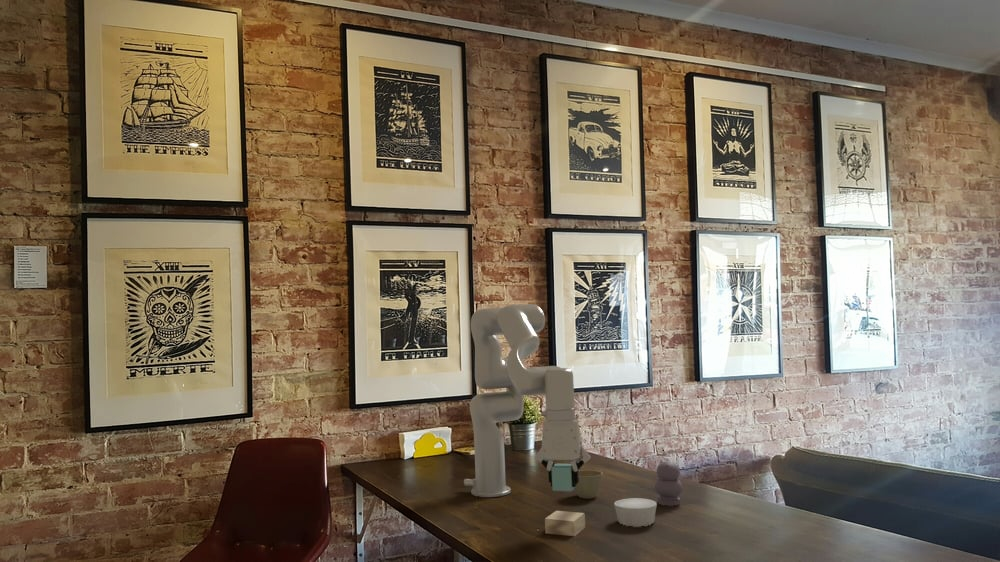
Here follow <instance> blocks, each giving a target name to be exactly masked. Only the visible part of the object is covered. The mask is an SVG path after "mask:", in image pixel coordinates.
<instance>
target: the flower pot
mask: <svg viewBox="0 0 1000 562" xmlns="http://www.w3.org/2000/svg"><path fill="white" fill-rule="evenodd" d="M578 474H579V483H577V485H576V486H575V488H574V489H573V491H575V493H576V495H577V497H579V498H580V499H595V497H596V496H597V495H598V492H599V490H600V488H601V485H602V481H603V475H604V474H603V472H602V471H600V470H593V469H581V470H580V469H579V470H578Z"/></svg>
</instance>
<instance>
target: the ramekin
mask: <svg viewBox="0 0 1000 562" xmlns="http://www.w3.org/2000/svg"><path fill="white" fill-rule="evenodd" d="M657 506H658V503H657V501H655V500H652V499H649V498H641V497H633V498H632V497H630V498H623V499H622V498H621V499H619V500H616V501H614V503H613V508H614V509H615V514H616V518H617V522H619V524H620V525H621V524H623V525H622V526H624V525H626V526H625V527H628V526H633V527H632V528H642V527H641V526H645V527H649V526H652V525H653V524H652V523H654V522H655V520H656V510H657ZM651 524H652V525H651ZM648 525H649V526H648Z"/></svg>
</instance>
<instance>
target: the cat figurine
mask: <svg viewBox="0 0 1000 562" xmlns="http://www.w3.org/2000/svg"><path fill="white" fill-rule="evenodd" d="M659 461H660V462H659V464H658V465H657V467H656V475H657V477H658V479H657V480H656V481H655V483H654V489H655V491H656V493H657V494H658V495H659V496H658V497H657V504H658V503H659V504H658V505H660V504H661V505H660V506H664V505H668V506H667V507H674V506H673V505H676V506H679V505H680V504H681V498H680V497H679V496H680V495H681V494H682V491H683V484H682V482H681V481H680V480H679V478H680V474H681V471H680V468H679V466H678V465H677V464H676V463H675V462H672V461H667V460H666V461H664V460H662V459H660V460H659ZM678 504H679V505H678ZM670 505H672V506H670Z"/></svg>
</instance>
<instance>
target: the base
mask: <svg viewBox="0 0 1000 562" xmlns="http://www.w3.org/2000/svg"><path fill="white" fill-rule="evenodd" d="M585 528H586V515H585V512H578V511H577V512H574V511H564V510H555V511H554V512H552V513H551V514H550V515H548V516H547V517H545V518H544V530H545V532H544V533H545V534H550V535H560V536H569V537H575V536H577V535H578V534H579V533H581V532H582V531H583V530H584V529H585ZM581 530H582V531H581Z"/></svg>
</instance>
